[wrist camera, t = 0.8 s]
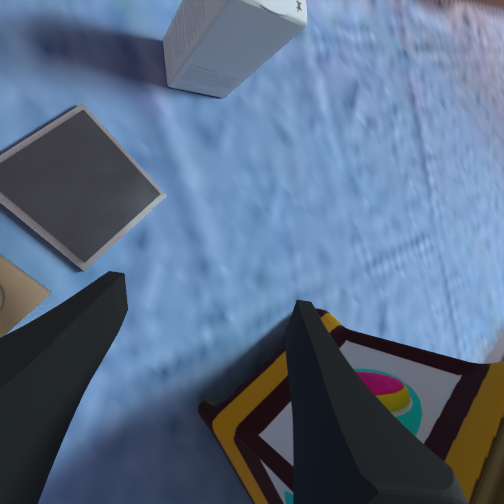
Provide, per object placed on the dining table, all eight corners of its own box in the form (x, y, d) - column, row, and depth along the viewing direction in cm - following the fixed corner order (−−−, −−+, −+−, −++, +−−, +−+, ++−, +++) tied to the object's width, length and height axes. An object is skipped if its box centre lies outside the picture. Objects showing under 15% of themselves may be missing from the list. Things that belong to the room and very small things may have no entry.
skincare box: (219, 56, 29) (306, -45, 19) (224, 102, 29) (312, 26, 19) (157, 38, 26) (225, -96, 16) (164, 91, 26) (234, -8, 16)
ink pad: (83, 271, 23) (85, 272, 22) (-31, 177, 19) (-35, 173, 18) (164, 196, 26) (169, 194, 25) (82, 106, 22) (83, 99, 21)
